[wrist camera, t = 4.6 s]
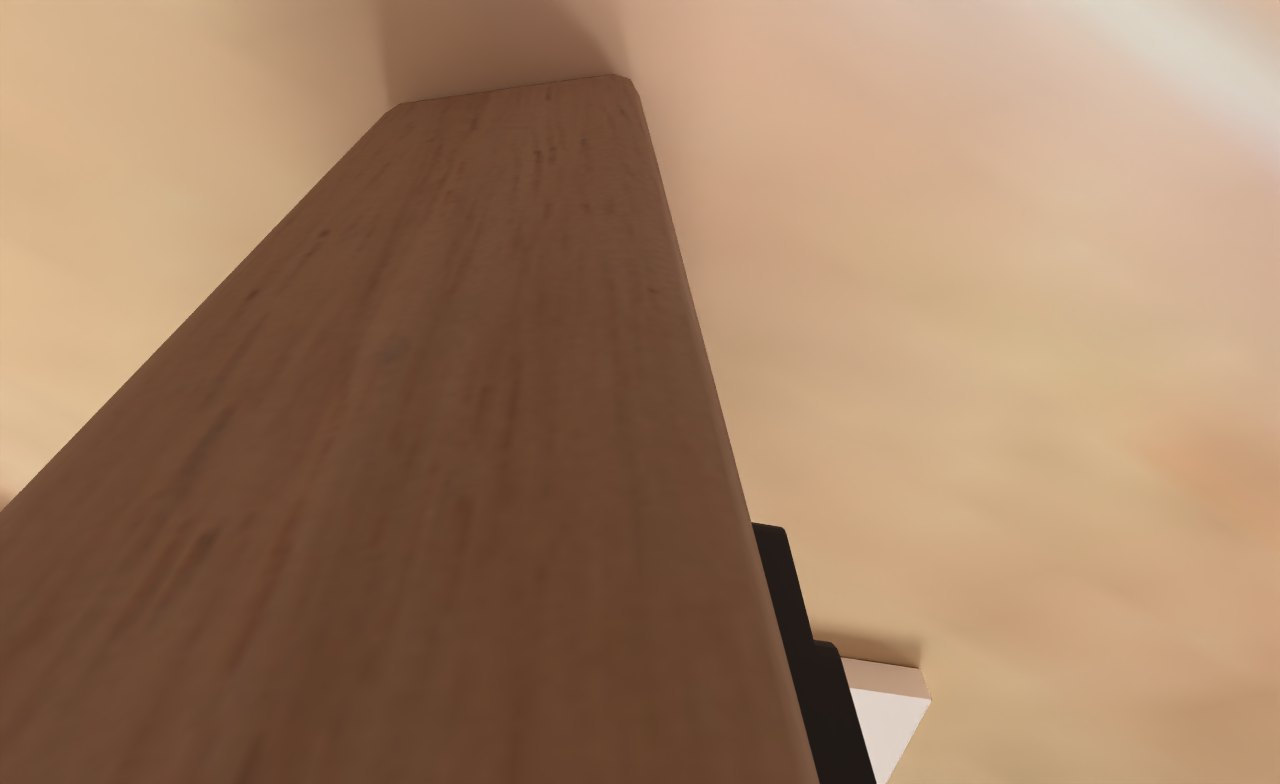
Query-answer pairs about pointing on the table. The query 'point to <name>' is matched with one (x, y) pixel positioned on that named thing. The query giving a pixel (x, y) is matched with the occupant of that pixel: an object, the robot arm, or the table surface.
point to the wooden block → (414, 496)
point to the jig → (886, 709)
